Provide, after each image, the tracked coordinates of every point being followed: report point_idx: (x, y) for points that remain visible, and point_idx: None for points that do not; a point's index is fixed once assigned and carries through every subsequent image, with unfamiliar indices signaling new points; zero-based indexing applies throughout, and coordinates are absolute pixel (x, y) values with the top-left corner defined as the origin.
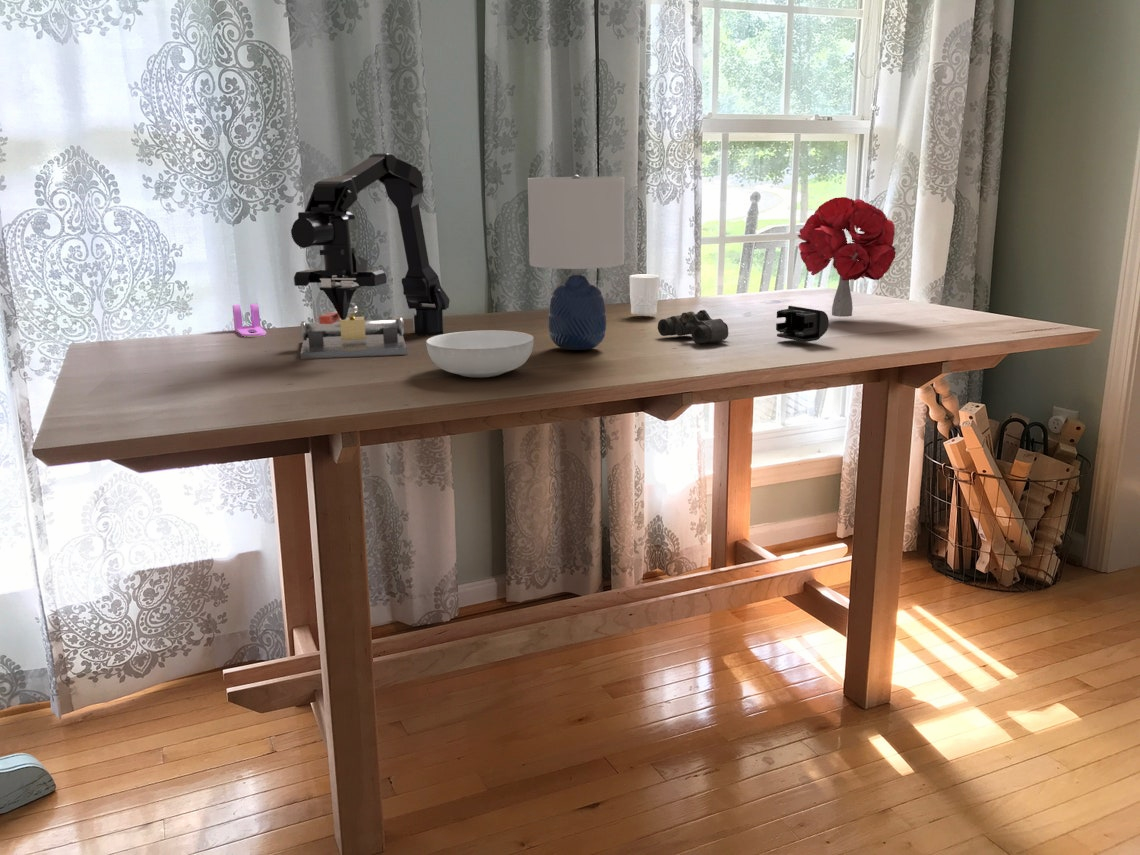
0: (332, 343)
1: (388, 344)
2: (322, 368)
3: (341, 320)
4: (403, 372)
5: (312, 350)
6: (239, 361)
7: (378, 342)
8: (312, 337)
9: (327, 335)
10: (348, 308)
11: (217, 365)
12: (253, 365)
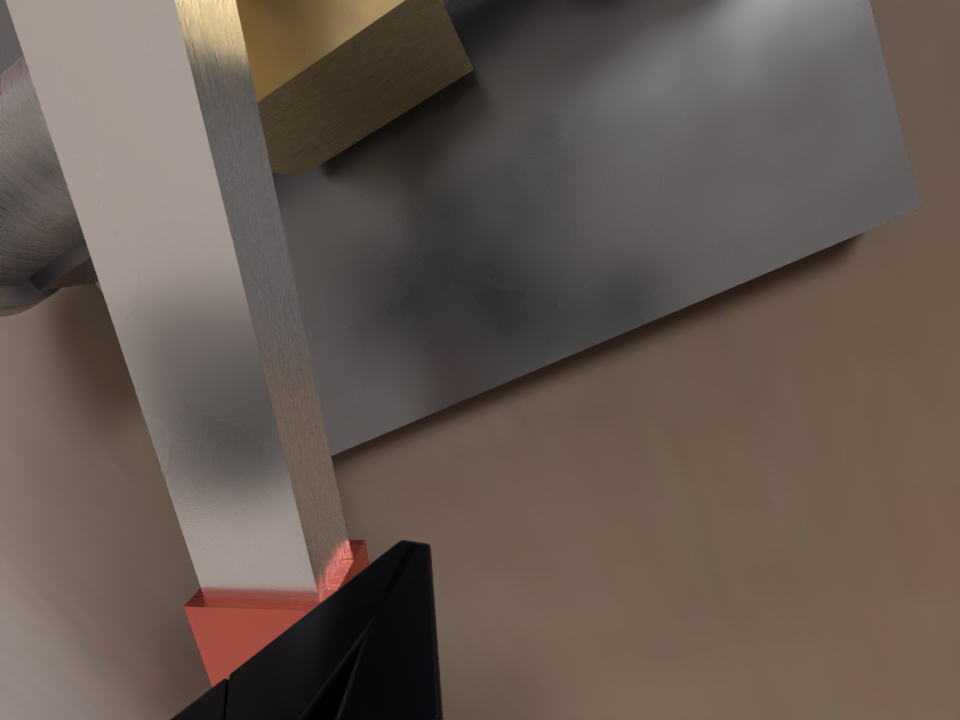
0: None
1: (704, 91)
2: (475, 624)
3: None
4: (947, 684)
5: None
6: (22, 522)
7: (575, 11)
8: None
9: None
10: (436, 646)
11: (11, 597)
12: (141, 588)
